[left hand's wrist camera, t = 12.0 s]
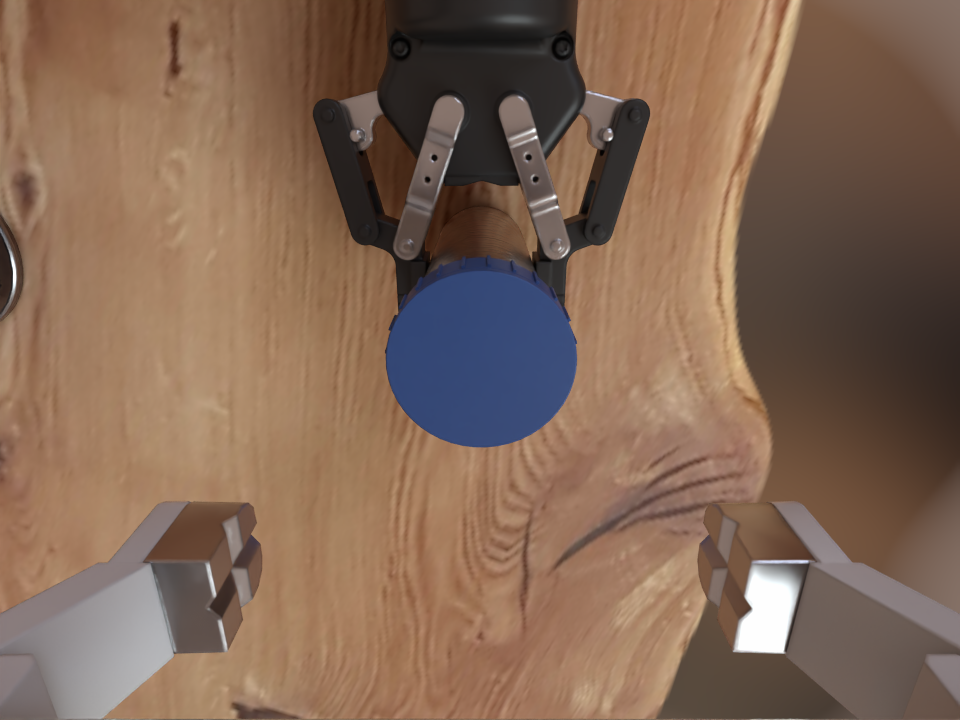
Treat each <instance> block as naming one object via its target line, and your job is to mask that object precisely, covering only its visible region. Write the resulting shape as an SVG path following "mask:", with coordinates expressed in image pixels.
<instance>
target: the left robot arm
mask: <svg viewBox="0 0 960 720" xmlns="http://www.w3.org/2000/svg"><path fill="white" fill-rule="evenodd" d="M703 523H704V525H705V527H706V529H707V531H708V533H709V535H708V536H707V537H706V538H705V539H704V540H703V541H702V542H701V543H700V545H699V553H698V571H699V578H700V582H701V585H702V588H703V591H704V593H705V595H706V597H707V599H708V600H709V601H711V602H712V603H713V604H715V605H716V606H717V607H719V612H718V617H717V621H718V623H719V625H720V627H721V629H722V631H723V633H724V635H725V637H726V639H727V641H728V643H729V645H730V647H731V649H732V651H733V652H748V653H785V654H786V657H787V658H789V659H790V660H791V661H792V662H793V663H794V664H796V665H797V666H798V667H799V668H800V669H801V670H802V671H804V672H805V673H806V674H807V675H808V676H809V677H811V678H812V679H813V680H814V681H815V682H816V683H818V684H819V685H820V686H821V687H822V688H823V689H824V690H826V691H827V692H828V693H829V694H830V695H831V696H833V697H834V698H835V699H836V700H837V701H838V702H840V703H841V704H842V705H843V706H844V707H845V708H847V709H848V710H849V711H850V712H851V713H852V714H854V715H855V716H856V717H857V718H858V719H102V718H103V717H104V716H105V715H107V714H108V713H109V712H110V711H111V710H112V709H114V708H115V707H116V706H117V705H118V704H119V703H121V702H122V701H123V700H124V699H125V698H126V697H128V696H129V695H130V694H131V693H132V692H133V691H135V690H136V689H137V688H138V687H139V686H140V685H142V684H143V683H144V682H145V681H146V680H147V679H149V678H150V677H151V676H152V675H153V674H154V673H156V672H157V671H158V670H159V669H160V668H161V667H162V666H164V665H165V664H166V663H167V662H168V661H169V660H171V659H172V658H173V657H174V654H176V653H211V652H228V650H229V647H230V645H231V643H232V641H233V639H234V637H235V635H236V633H237V631H238V629H239V627H240V625H241V623H242V621H243V617H242V612H241V607H243V606H244V605H245V604H247V603H248V602H249V601H251V600H252V599H253V597H254V595H255V593H256V591H257V588H258V586H259V581H260V577H261V572H262V551H261V545H260V543H259V542H258V541H257V540H256V539H255V538H254V537H253V536H252V535H251V533H252V531H253V529H254V527H255V525H256V524H257V522H256V517H255V512H254V507H253V506H252V505H250V504H249V503H238V502H189V501H165V502H162V503H159V504H157V505H156V507H155V508H154V509H153V510H152V511H151V512H150V514H149V515H148V516H147V517H146V518H145V519H144V521H143V522H142V523H141V524H140V525H139V527H138V528H137V529H136V530H135V531H134V532H133V534H132V535H131V536H130V537H129V538H128V539H127V541H126V542H125V543H124V544H123V545H122V547H121V548H120V549H119V550H118V551H117V552H116V554H115V555H114V556H113V557H112V558H111V559H110V561H109V562H108V563H97V564H95V565H93V566H91V567H89V568H87V569H85V570H83V571H82V572H80V573H78V574H76V575H74V576H72V577H70V578H68V579H66V580H64V581H62V582H60V583H58V584H57V585H55V586H53V587H51V588H49V589H47V590H45V591H43V592H41V593H39V594H37V595H35V596H33V597H31V598H30V599H28V600H26V601H24V602H22V603H20V604H18V605H16V606H14V607H12V608H10V609H8V610H6V611H4V612H3V613H1V614H0V720H960V614H959V613H957V612H955V611H953V610H951V609H949V608H948V607H946V606H944V605H942V604H940V603H938V602H936V601H934V600H932V599H930V598H928V597H926V596H925V595H923V594H921V593H919V592H917V591H915V590H913V589H911V588H909V587H907V586H905V585H903V584H901V583H900V582H898V581H896V580H894V579H892V578H890V577H888V576H886V575H884V574H882V573H880V572H878V571H876V570H874V569H873V568H871V567H869V566H867V565H865V564H863V563H852V562H851V561H850V560H849V558H848V557H847V556H846V555H845V554H844V552H843V551H842V550H841V549H840V548H839V547H838V545H837V544H836V543H835V542H834V541H833V540H832V538H831V537H830V536H829V535H828V534H827V532H826V531H825V530H824V529H823V528H822V527H821V525H820V524H819V523H818V522H817V521H816V520H815V518H814V517H813V516H812V515H811V514H810V513H809V511H808V510H807V509H806V508H805V507H804V505H802V504H801V503H799V502H796V501H782V502H766V503H709V505H708V507H707V509H706V511H705V516H704V521H703Z"/></svg>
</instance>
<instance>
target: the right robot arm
mask: <svg viewBox="0 0 960 720" xmlns="http://www.w3.org/2000/svg"><path fill="white" fill-rule="evenodd" d="M577 5H578V0H385V10H386V29H387V47H388V53H387V61H386V66H385V69H384V72H383V74H382V77H381V79H380V81H379V84H378V88H377V91H373V92H370V93H366V94H362V95H359V96H355V97H351V98H348V99H344V100H333V99H322V100H320V101H319V102H317V103H316V105H315V107H314V110H313V117H314V121H315V124H316V127H317V130H318V133H319V136H320V139H321V142H322V146H323V149H324V152H325V155H326V158H327V161H328V164H329V167H330V170H331V173H332V176H333V179H334V183H335V186H336V189H337V192H338V195H339V198H340V201H341V204H342V207H343V210H344V213H345V217H346V220H347V223H348V226H349V229H350V232H351V235H352V237H353V239H354V240H355V241H356V242H357V243H359V244H361V245H372V246H375V247H378V248H381V249H384V250H386V251H387V252H389V253H390V254H391V255H392V257H393V258H394V260H395V263H396V277H397V294H398V312H399V310H400V309H399V306H400V303H401V301H402V299H403V297H404V295H405V294H406V295H408V294H409V293H410V291H411V290H412V289H413V287H414V286H415V285H416V284H417V282H418V279H419V278H420V277H422V278H424V277H425V275H426V273H427V270H428V267H429V264H430V252H425V239H426V236H427V233H428V230H429V227H430V224H431V221H432V218H433V215H434V212H435V209H436V206H437V203H438V200H439V197H440V194H441V191H442V188H443V185H444V184H445V186H464V185H467V184H471V183H474V182H478V181H485V182H489V183H493V184H496V185H500V186H518V185H519V184H520V187H521V190H522V193H523V196H524V199H525V202H526V205H527V208H528V211H529V214H530V217H531V220H532V223H533V226H534V229H535V232H536V235H537V238H538V240H537V252H532V263H533V266H534V269H535V272H536V273H537V276H538V277H539V278H540V279H541V280H542V281H543V282H544V283H545V284H546V285H547V286H548V287H549V288H550V287H552V288H553V289H554V291H555V293H556V296H557V298H558V301H559V303H560V304H561V306H562V307H563V306H564V302H565V284H566V266H567V261H568V259H569V257H570V256H571V254H572V253H574V252H575V251H576V250H579V249H581V248H584V247H587V246H590V245H603V244H605V243H606V242H608V241H609V239H610V238H611V236H612V233H613V230H614V227H615V224H616V221H617V218H618V214H619V211H620V208H621V205H622V202H623V199H624V196H625V193H626V189H627V186H628V183H629V180H630V177H631V174H632V171H633V168H634V164H635V161H636V158H637V155H638V152H639V149H640V146H641V143H642V140H643V136H644V133H645V130H646V127H647V124H648V121H649V117H650V109H649V107H648V105H647V103H646V102H644V101H643V100H641V99H633V98H631V99H624V100H622V99H618V98H615V97H611V96H607V95H603V94H600V93H596V92H592V91H588V90H586V87H585V83H584V80H583V78H582V76H581V74H580V72H579V69H578V66H577V61H576V54H575V44H576V24H577ZM383 115H385V117H386V118H387V119H388V121H389V122H390V124H391V125H392V126H393V128H394V129H395V130H396V132H397V133H398V135H399V136H400V137H401V139H402V140H403V141H404V143H405V144H406V145H407V147H408V148H409V150H410V151H411V152H412V154H413V155H414V156H415V158H416V159H417V161H418V162H417V165H416V168H415V171H414V175H413V178H412V181H411V184H410V188H409V191H408V194H407V198H406V202H405V207H404V210H403V213H402V216H401V220H398V219H395V218H392V217H389V216H387V215H385V213H384V210H383V207H382V203H381V200H380V197H379V193H378V190H377V187H376V183H375V180H374V177H373V173H372V170H371V167H370V163H369V160H368V157H367V153H366V149H369V148H371V147H372V146H373V145H374V143H375V141H376V124H377V121H378V120H379V118H380V117H381V116H383ZM578 115H581V116H582V117H583V118H584V119H585V120H586V123H587V140H588V142H589V144H590V145H591V146H592V147H594V148H596V149H598V150H597V153H596V157H595V160H594V163H593V167H592V170H591V173H590V177H589V180H588V184H587V187H586V190H585V194H584V197H583V201H582V204H581V207H580V211H579V214H578V215H575V216H573V217H570V218H567V219H564V220H563V218H562V215H561V211H560V208H559V205H558V199H557V196H556V192H555V189H554V186H553V183H552V180H551V176H550V173H549V170H548V167H547V164H546V159H547V158H548V156H549V155H550V154H551V152H552V151H553V149H554V148H555V147H556V145H557V144H558V143H559V141H560V140H561V138H562V137H563V136H564V134H565V133H566V132H567V130H568V129H569V127H570V126H571V125H572V123H573V122H574V120H575V119H576V118H577V116H578ZM22 285H23V266H22V259H21V255H20V251H19V249H18V246H17V243H16V241H15V238H14V236H13V234H12V232H11V231H10V229H9V227H8V225H7V224H6V222H5V221H4V219H3V218H2V217H1V215H0V321H2V320H3V319H4V318H5V317H6V316H7V315H8V314H9V313H10V312H11V311H12V310H13V308H14V307H15V305H16V303H17V301H18V299H19V297H20V293H21V290H22Z"/></svg>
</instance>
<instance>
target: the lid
mask: <svg viewBox="0 0 960 720" xmlns="http://www.w3.org/2000/svg"><path fill="white" fill-rule="evenodd" d="M399 309H400V310H399V312H398V314H397V315H395V316H394V318H393V320H392V322H391V325H390V327H389V330H390V331H391V332H390V334H389V338H388V343H387V347H386V350H385V353H386V369H387V375H388V380H389V383H390V386H391V389H392V391H393V393H394V395H395V397H396V399H397V401H398V403H399V404H400V406H401V407H402V409H403V410H404V411H405V412H406V414H407V415H408V416H409V417H410V418H411V419H412V420H413V421H414V422H415V423H416V424H418V425H419V426H420V427H421V428H423V429H424V430H426V431H427V432H429V433H430V434H432V435H434V436H436V437H438V438H440V439H442V440H445V441H448V442H450V443H454V444H458V445H462V446H469V447H494V446H500V445H505V444H509V443H512V442H515V441H518V440H521V439H523V438H525V437H527V436H529V435H531V434H532V433H534V432H536V431H537V430H539V429H540V428H541V427H543V426H544V425H545V424H546V423H547V422H549V421H550V420H551V419H552V418H553V417H554V415H555V414H556V413H557V412H558V411H559V409H560V408H561V407H562V405H563V404H564V402H565V400H566V399H567V397H568V395H569V393H570V390H571V388H572V385H573V382H574V378H575V373H576V366H577V352H576V344H577V341H576V338H575V336H574V334H573V331H572V329H571V327H570V324H569V321H571V320H570V318H569V315H568V313H567V311H566V309H565V306H563V307H562V306H561V304H560V303H559V301H558V298H557V296H556V293H555V291H554V289H553V288H552V287H550V288H549V287H548V286H547V285H546V284H545V283H544V282H543V281H542V280H541V279H540V278H539V277H538V276H537V273H536V272H535V271H533V272H530V271H529V270H527V269H525V268H524V267H521V266H519V265H517V264H515V261H513V260H511V262H508V261H505V260H501V259H495V258H491V257H490V255H487V258H483V257H476V258H467V259H466V257H462V260H458V261H454V262H451V263H448V264H446V265H442V264H440V265H439V266H438V269H436V270H434V271H432V272H431V273H429V274H428V275H427V276H425V277H424V278H422V277H420V278H419V279H418V282H417V284H416V285H415V286H414V287H413V289H412V290H411V291H410V293H409V294H408V295H406V294H405V295H404V297H403V299H402V301H401V303H400V306H399Z"/></svg>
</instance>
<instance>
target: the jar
mask: <svg viewBox="0 0 960 720" xmlns="http://www.w3.org/2000/svg"><path fill="white" fill-rule="evenodd" d="M487 255H490V257H491V258H495V259H501V260H505V261H508V262H511V260H513V261H515V264H517V265H519V266H521V267H524V268H525V269H527V270H529V271H530V272H533V271H535V269H534V266H533V263H532V260H531V258H530V255H529V252H528V249H527V247H526V244H525V241H524V238H523V236H522V233H521V231H520V229H519V227H518V226H517V224H516V223H515V222H514V221H513V220H512V218H510V217H509V216H508V215H507V214H505V213H504V212H502V211H500V210H498V209H495V208H491V207H485V206H477V207H471V208H467V209H465V210H462V211H460V212H459V213H457V214H456V215H454V216H453V217H452V218H451V219H450V220H449V221H448V222H447V223H446V225H445V226H444V228H443V229H442V231H441V234H440V236H439V239H438V242H437V245H436V247H435V250H434V253H433V256H432V259H431V261H430V264H429V267H428V270H427V273H426V275H425V276H427V275H428V274H429V273H431V272H432V271H434V270H436V269H438V266H439V265H440V264H442V265H446V264H448V263H451V262H454V261H458V260H462V257H466V259H467V258H476V257H483V258H487Z"/></svg>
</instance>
